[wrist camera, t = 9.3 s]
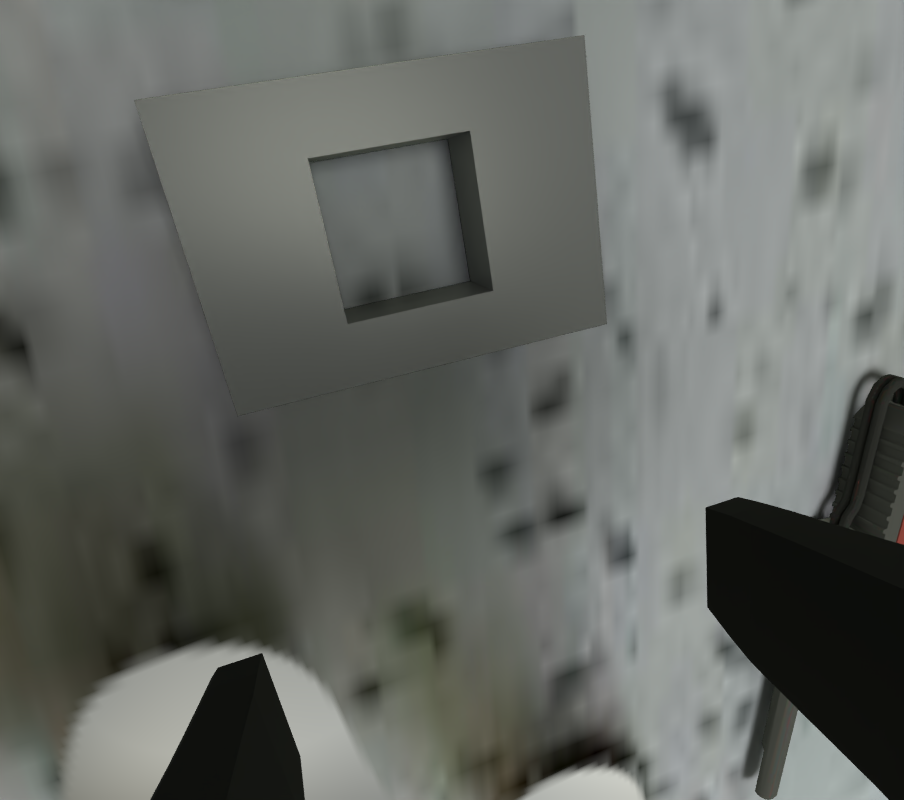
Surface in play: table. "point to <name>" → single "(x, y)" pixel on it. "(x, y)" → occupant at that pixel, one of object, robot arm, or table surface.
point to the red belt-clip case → (858, 508)
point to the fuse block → (303, 234)
